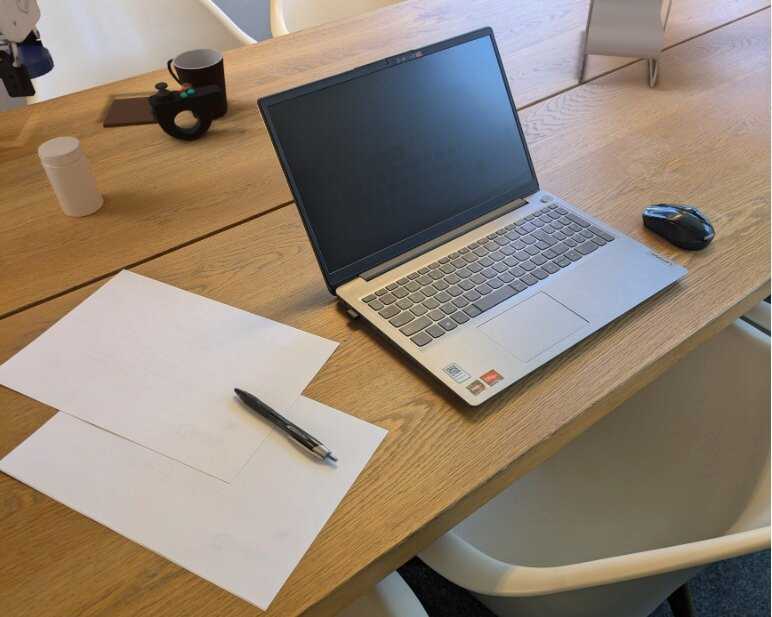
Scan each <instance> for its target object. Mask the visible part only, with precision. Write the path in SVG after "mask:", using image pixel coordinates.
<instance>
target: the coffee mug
mask: <svg viewBox="0 0 772 617" xmlns="http://www.w3.org/2000/svg"><path fill="white" fill-rule="evenodd" d="M166 65H167V67H166V68H167V70H168V73H169V74H170V75H171V77H172V78H173V79H174V80H175V82H176V83H177V84H178V85H179V86H181V89H191V88H197V87H203V86H208V85H214V84H215V85H218V86H219V88H220V89H221V91H222V92H223V94H224V97H225V98H224V101H223V102H222V103H220V104H219V105H217V106H216V107H214V108H213V120H214V121H215V120H218V119H220V118H223V117H224V116H225V115H227V113H228V112H229V109H228V96H227V86H226V74H225V63H224V54H223V52H221V51H220V50H218V49H215V48H194V49H190V50H185V51H183V52H180V53H179V54H177V55H176V56H174V58H170V59H169V60H167V62H166ZM172 65H173V68H174V70H175V72H176V74H175V73H174V71H173V70H172ZM227 111H228V112H227ZM190 113H191V114H192V117H193V118H194V119H196V120H198V115H197V114H196V113H194V112H192V111H190ZM219 117H220V118H219Z"/></svg>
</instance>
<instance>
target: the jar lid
mask: <svg viewBox="0 0 772 617" xmlns="http://www.w3.org/2000/svg"><path fill="white" fill-rule="evenodd" d="M3 50H4V51H5V52H7V53H8V54H9V55H10V53H9V48H6V49H3ZM17 50H18V55H19V59H20V64H25V67H26V69H27V72H28V74H29V77H30V79H31V80H34V79H38V78H40V77H43V76H46V75H47V74H48V73H50V72H51V71H52V70H54V67H55V64H54V60H53V56H52V54H51V53H50V50H49V49H48V48H47V47H45V46H44V45H43V46H37V45H25V46H18V47H17ZM0 79H1V76H0Z"/></svg>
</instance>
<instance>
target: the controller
mask: <svg viewBox="0 0 772 617" xmlns="http://www.w3.org/2000/svg"><path fill="white" fill-rule="evenodd" d="M168 87H169V84H168V83H167V82H164V81H161V82H158V83H157V82H156V83H155V84H154V89H156V90H157V91H156V93H155V94H151V95H150V96H148V97H149V98H148V101H149V104H150V106H151V107H152V108H150V112H151V114H152V117H153V120H157V122H158V123H157V124H158V126H159V127H160V129H161V130H162V131H163V132H164V133H165V134H166V135H168V136H170V137H171V138H173V139H176V140H179V141H190V140H191V141H192V140H195V139H198V138H200V137H202V136H203V135H205V134H206V132H208V131H209V129H210V128H211V126H212V124H213V108H214V107H216V106H217V105H219V104H220V103H222V102H223V101H224V98H225V97H224V94H223V92H222V91H221V89H220V88H219V86H218V85H215V84H214V85H208V86H203V87H197V88H191V89H183V88H181V89H179V90H169V89H167V88H168ZM191 111H192V112H194V113H196V114H197V115H198V119H196V122H195V123H194V125H192V126H190V127H181V126H179V125H178V124H176V121H175V120H176V118H177V116H178V115H179V114H180V113H182V112H191ZM192 112H191V113H192Z"/></svg>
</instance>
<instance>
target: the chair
mask: <svg viewBox="0 0 772 617" xmlns="http://www.w3.org/2000/svg"><path fill="white" fill-rule="evenodd" d="M663 2H664V0H590V1H589V8H588V13H587V18H586V19H587V20H586V24H585V29H584V30H585V31H584V36H583V44H582V51H581V58H580V65H579V72H580V73H579V74H578V80H577V82H578V83H581V80H582V75H583V70H584V63H585V57H586V55H589V56H604V57H616V58H630V59H631V58H633V59H643V60H644V59H646V60H648V63H649V62H650V67H649V87H650V86H651V88H650V89H653V88H654V86H655V83H656V80H657V76H658V75H657V74H658V68H659V64H660V57H661V54H662V50H663V45H664V40H665V31H666V28H667V24H668V20H669V16H670V12H671V8H672V2H673V0H668V6H667V11H666V14H665V18H664V22H663V21H662V7H663ZM653 60H655V61H656V63H655V69H654V74H653Z"/></svg>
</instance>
